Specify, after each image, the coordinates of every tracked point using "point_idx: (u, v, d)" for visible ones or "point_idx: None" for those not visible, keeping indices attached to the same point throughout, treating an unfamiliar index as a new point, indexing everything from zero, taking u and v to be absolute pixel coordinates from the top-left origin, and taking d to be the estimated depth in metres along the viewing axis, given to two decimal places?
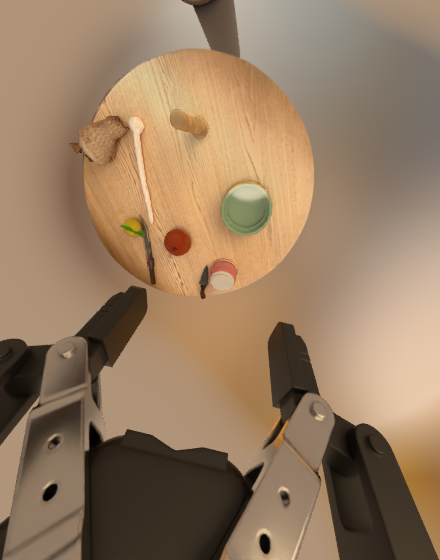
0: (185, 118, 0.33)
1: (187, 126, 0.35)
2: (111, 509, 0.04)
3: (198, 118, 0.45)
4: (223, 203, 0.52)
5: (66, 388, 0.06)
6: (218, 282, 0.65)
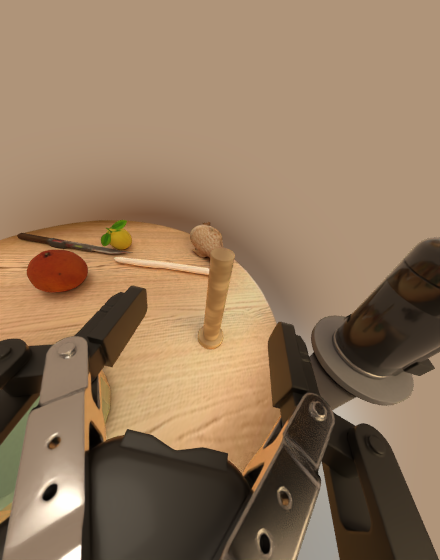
0: (223, 265, 0.21)
1: (213, 274, 0.22)
2: (111, 509, 0.04)
3: (221, 335, 0.32)
4: None
5: (66, 388, 0.06)
6: None
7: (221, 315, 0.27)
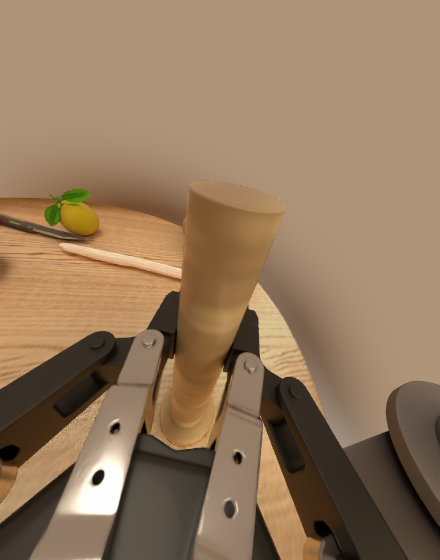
0: (238, 233, 0.04)
1: (193, 275, 0.06)
2: (111, 509, 0.04)
3: (209, 412, 0.15)
4: None
5: (138, 377, 0.06)
6: None
7: (212, 387, 0.11)
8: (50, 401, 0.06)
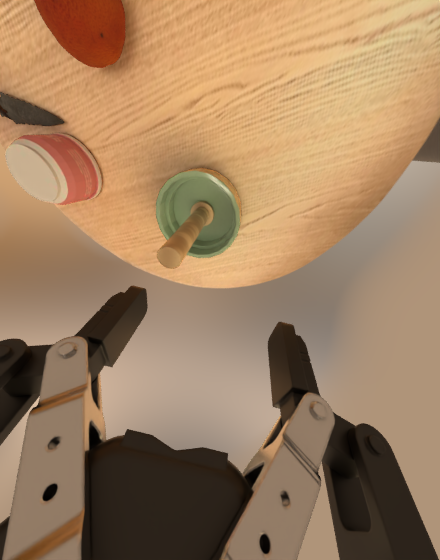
0: None
1: None
2: (111, 509, 0.04)
3: (211, 215, 0.34)
4: (207, 176, 0.27)
5: (66, 388, 0.06)
6: (28, 166, 0.27)
7: (199, 232, 0.29)
8: None
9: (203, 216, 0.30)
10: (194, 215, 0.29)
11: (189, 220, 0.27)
